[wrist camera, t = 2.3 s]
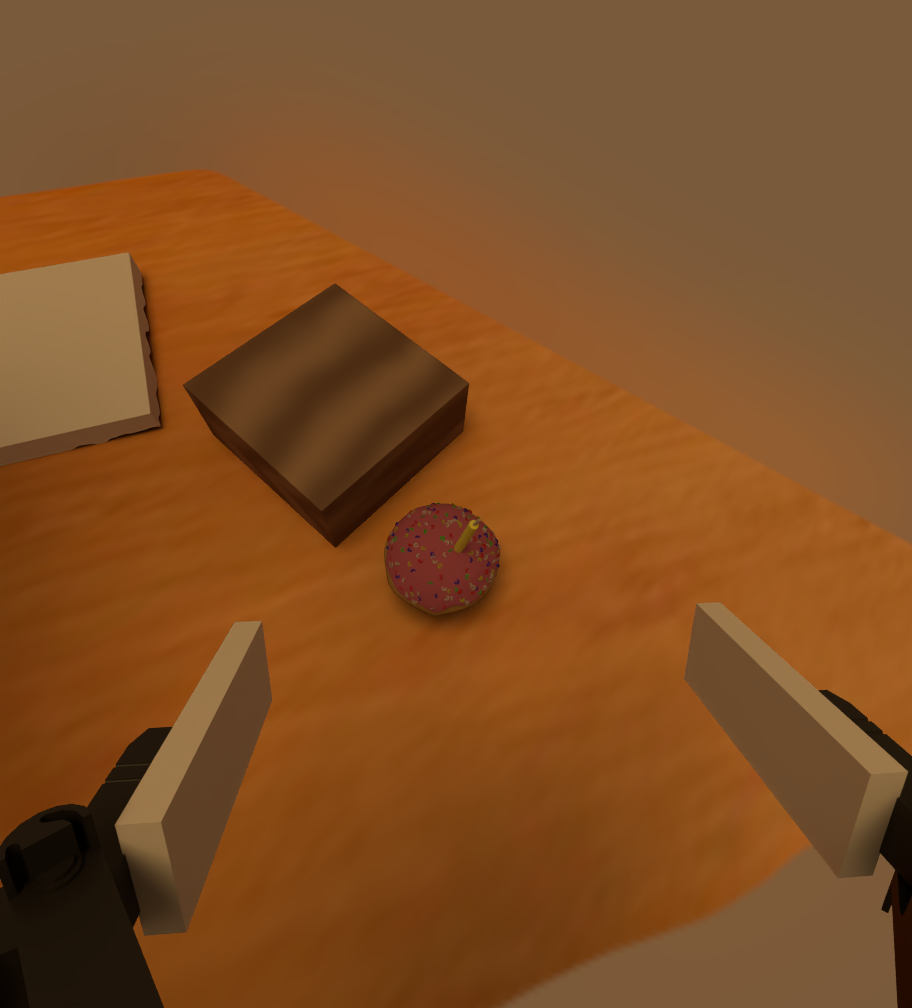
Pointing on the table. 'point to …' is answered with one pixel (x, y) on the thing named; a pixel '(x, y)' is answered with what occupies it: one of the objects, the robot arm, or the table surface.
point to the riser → (332, 409)
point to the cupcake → (441, 558)
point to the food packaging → (73, 357)
